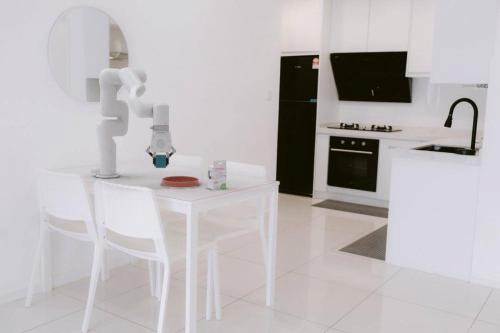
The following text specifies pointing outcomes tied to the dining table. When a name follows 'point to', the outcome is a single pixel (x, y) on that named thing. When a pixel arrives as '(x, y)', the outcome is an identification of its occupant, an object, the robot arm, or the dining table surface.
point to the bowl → (180, 181)
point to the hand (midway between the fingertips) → (160, 165)
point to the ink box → (217, 175)
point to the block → (160, 161)
